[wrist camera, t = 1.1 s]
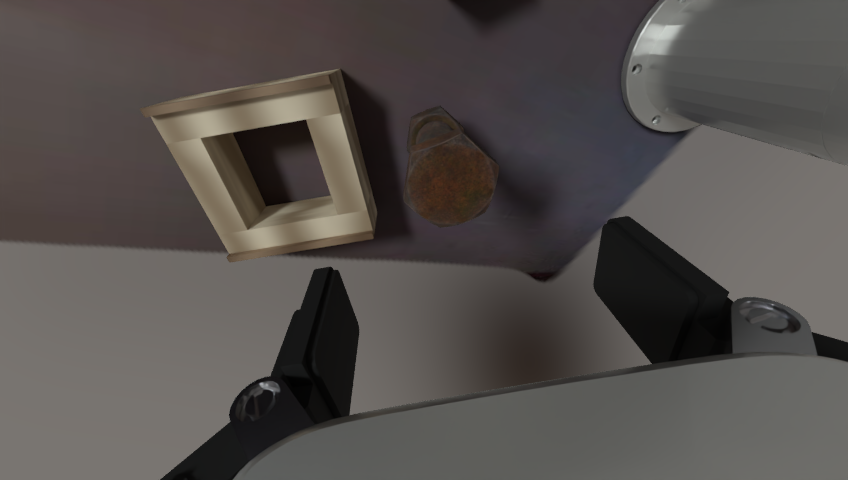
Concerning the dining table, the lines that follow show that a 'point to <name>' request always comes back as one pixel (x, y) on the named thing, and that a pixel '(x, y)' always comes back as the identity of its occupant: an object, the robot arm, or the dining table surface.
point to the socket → (233, 182)
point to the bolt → (446, 171)
